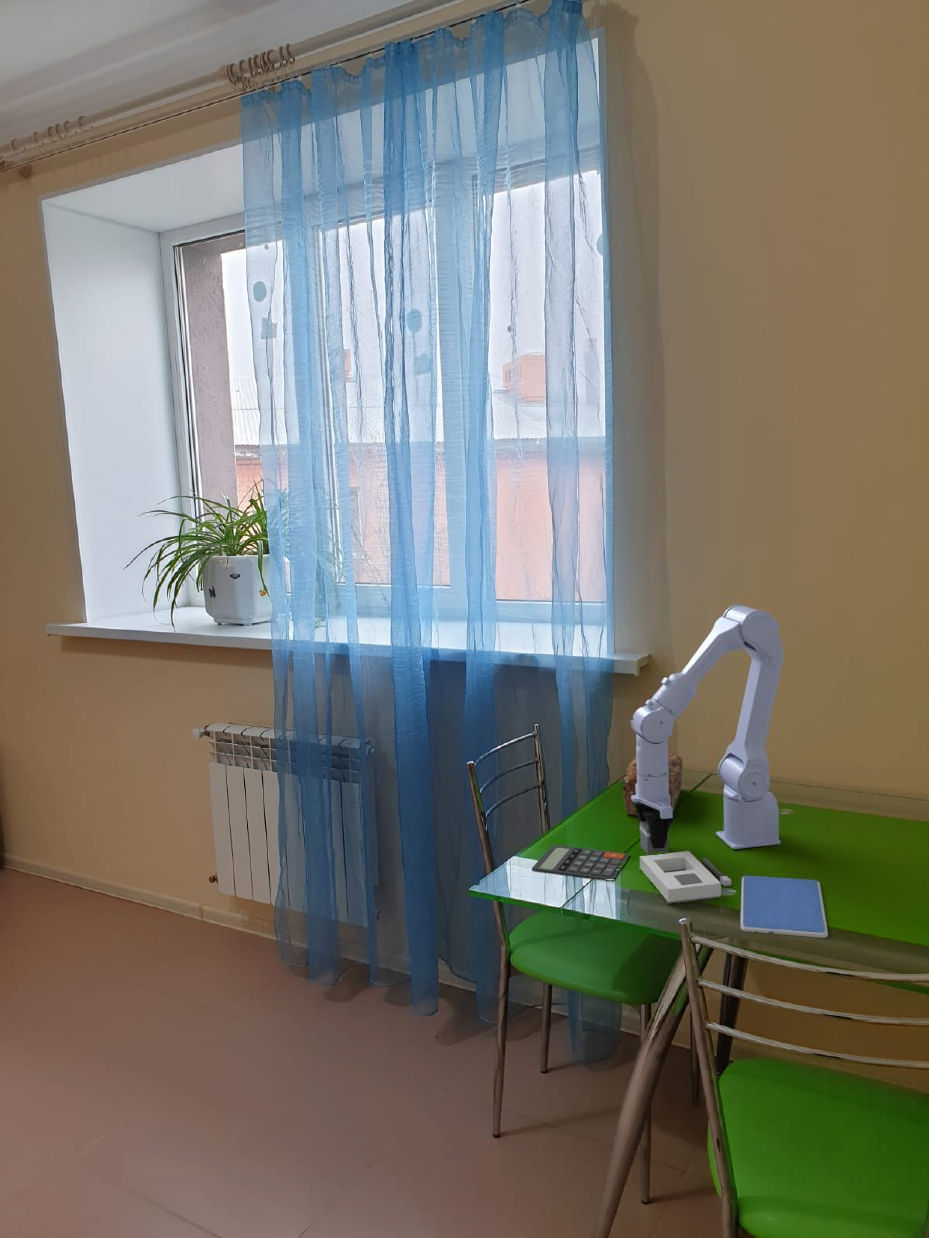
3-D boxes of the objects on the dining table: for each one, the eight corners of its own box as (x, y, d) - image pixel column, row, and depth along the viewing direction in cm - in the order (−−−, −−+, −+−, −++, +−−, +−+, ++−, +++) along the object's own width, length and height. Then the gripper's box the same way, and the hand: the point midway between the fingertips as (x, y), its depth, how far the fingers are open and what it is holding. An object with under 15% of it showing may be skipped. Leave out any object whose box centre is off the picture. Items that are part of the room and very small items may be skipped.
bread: (674, 820, 192) (673, 772, 191) (621, 816, 196) (619, 769, 194) (684, 790, 210) (683, 746, 208) (635, 787, 213) (634, 744, 212)
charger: (661, 844, 180) (660, 819, 179) (669, 853, 176) (668, 827, 175) (640, 847, 179) (639, 821, 178) (647, 855, 175) (646, 829, 174)
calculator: (613, 878, 165) (531, 867, 171) (613, 883, 165) (531, 872, 171) (630, 852, 175) (552, 843, 182) (630, 857, 175) (552, 848, 182)
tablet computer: (828, 941, 142) (828, 933, 141) (740, 934, 145) (740, 926, 145) (819, 886, 160) (819, 879, 160) (741, 881, 163) (741, 874, 163)
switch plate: (688, 864, 170) (688, 850, 169) (721, 898, 156) (721, 882, 156) (640, 870, 169) (639, 855, 168) (668, 904, 155) (668, 888, 155)
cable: (707, 861, 171) (707, 856, 171) (731, 885, 161) (731, 880, 161) (700, 862, 171) (700, 857, 171) (724, 885, 161) (724, 880, 160)
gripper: (619, 762, 182) (621, 831, 184) (644, 786, 167) (646, 860, 169) (655, 759, 183) (656, 827, 185) (683, 782, 168) (684, 855, 170)
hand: (654, 842), depth 177 cm, fingers closed on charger, 4 cm apart
